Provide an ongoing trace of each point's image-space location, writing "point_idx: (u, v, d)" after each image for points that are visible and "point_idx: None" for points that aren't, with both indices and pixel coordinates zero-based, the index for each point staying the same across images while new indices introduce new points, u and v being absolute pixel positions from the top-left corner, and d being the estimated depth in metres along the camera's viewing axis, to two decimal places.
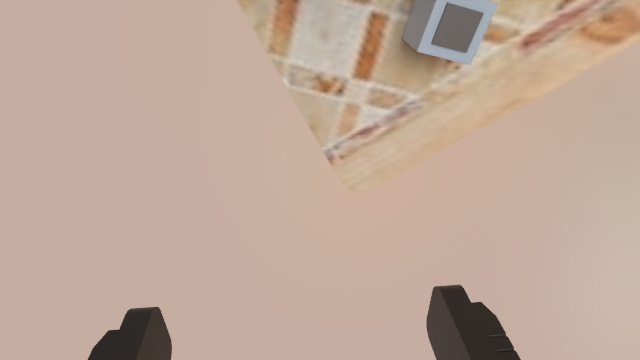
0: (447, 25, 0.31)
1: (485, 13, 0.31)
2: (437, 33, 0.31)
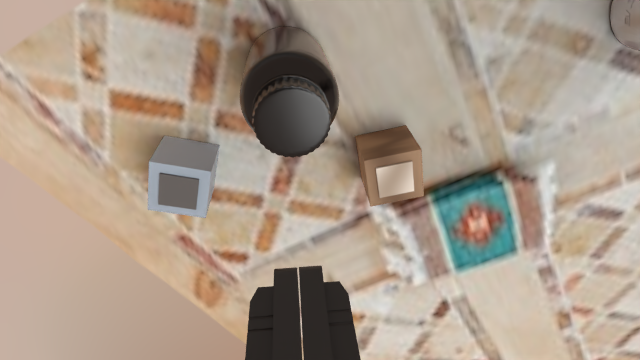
0: (178, 183, 0.33)
1: (195, 210, 0.34)
2: (170, 176, 0.32)
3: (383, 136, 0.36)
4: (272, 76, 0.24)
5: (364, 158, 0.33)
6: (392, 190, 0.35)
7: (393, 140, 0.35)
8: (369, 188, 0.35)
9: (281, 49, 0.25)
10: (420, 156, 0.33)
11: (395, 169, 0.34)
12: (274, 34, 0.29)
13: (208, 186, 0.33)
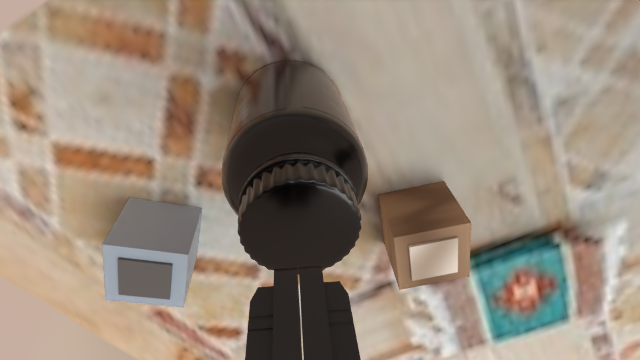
0: (144, 270, 0.24)
1: (170, 299, 0.26)
2: (132, 262, 0.24)
3: (416, 197, 0.28)
4: (269, 152, 0.16)
5: (393, 233, 0.25)
6: (428, 271, 0.26)
7: (430, 206, 0.27)
8: (399, 269, 0.26)
9: (283, 108, 0.16)
10: (469, 231, 0.25)
11: (435, 247, 0.25)
12: (273, 75, 0.20)
13: (185, 271, 0.25)
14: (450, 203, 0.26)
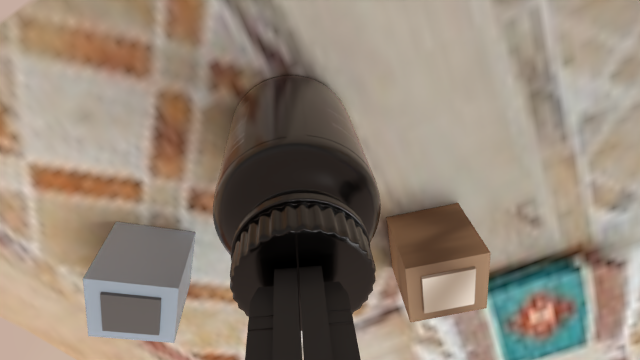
0: (130, 305, 0.22)
1: (159, 334, 0.24)
2: (117, 297, 0.22)
3: (428, 221, 0.25)
4: (268, 190, 0.13)
5: (405, 263, 0.23)
6: (442, 303, 0.24)
7: (444, 231, 0.24)
8: (410, 301, 0.24)
9: (283, 136, 0.14)
10: (487, 261, 0.23)
11: (450, 279, 0.23)
12: (272, 94, 0.18)
13: (175, 306, 0.23)
14: (466, 229, 0.24)
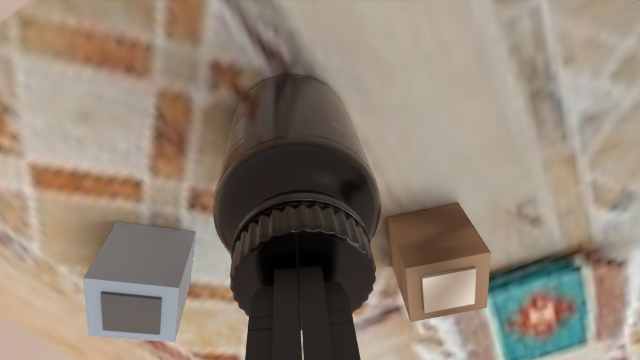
0: (131, 304, 0.22)
1: (159, 334, 0.24)
2: (117, 296, 0.22)
3: (428, 221, 0.25)
4: (268, 189, 0.13)
5: (405, 263, 0.23)
6: (443, 303, 0.24)
7: (444, 231, 0.24)
8: (410, 301, 0.24)
9: (283, 135, 0.14)
10: (488, 261, 0.23)
11: (450, 278, 0.23)
12: (272, 93, 0.18)
13: (176, 305, 0.23)
14: (466, 228, 0.24)
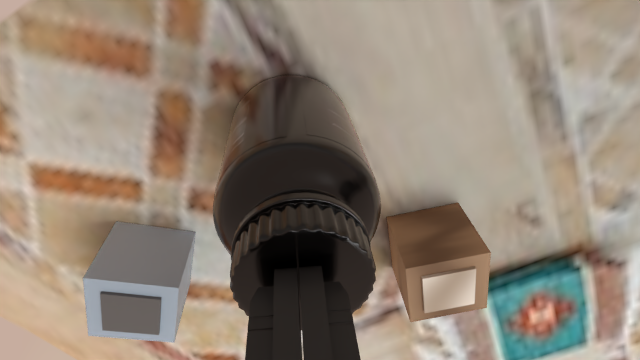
0: (130, 304, 0.22)
1: (159, 334, 0.24)
2: (117, 296, 0.22)
3: (428, 221, 0.25)
4: (267, 189, 0.13)
5: (405, 263, 0.23)
6: (442, 303, 0.24)
7: (444, 231, 0.24)
8: (410, 301, 0.24)
9: (283, 135, 0.14)
10: (488, 261, 0.23)
11: (450, 279, 0.23)
12: (272, 93, 0.18)
13: (175, 305, 0.23)
14: (466, 229, 0.24)
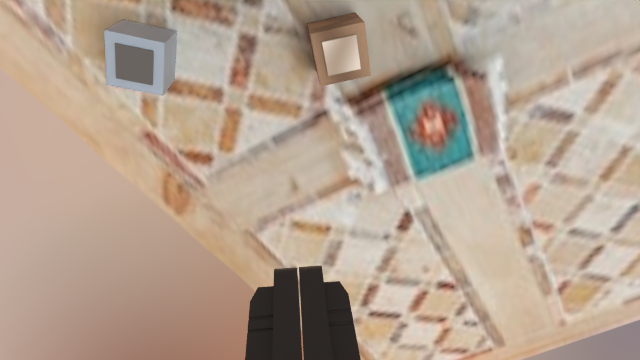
0: (134, 54, 0.34)
1: (152, 87, 0.36)
2: (125, 47, 0.34)
3: (332, 20, 0.38)
4: None
5: (311, 32, 0.35)
6: (339, 67, 0.37)
7: (340, 21, 0.37)
8: (317, 65, 0.37)
9: None
10: (363, 30, 0.35)
11: (340, 43, 0.35)
12: None
13: (163, 59, 0.35)
14: (354, 18, 0.37)
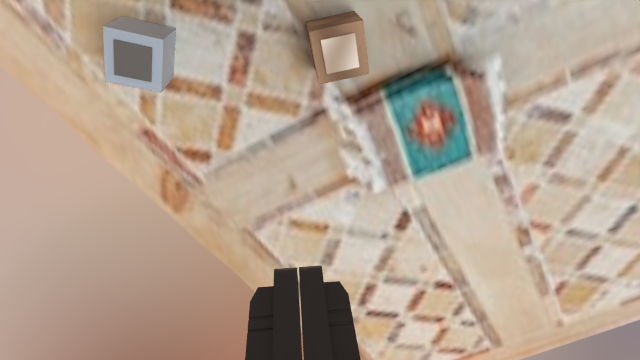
0: (132, 51, 0.34)
1: (151, 84, 0.36)
2: (124, 43, 0.34)
3: (331, 18, 0.38)
4: None
5: (309, 30, 0.35)
6: (337, 65, 0.37)
7: (339, 19, 0.37)
8: (316, 63, 0.37)
9: None
10: (362, 28, 0.35)
11: (339, 41, 0.36)
12: None
13: (161, 56, 0.35)
14: (353, 16, 0.37)
